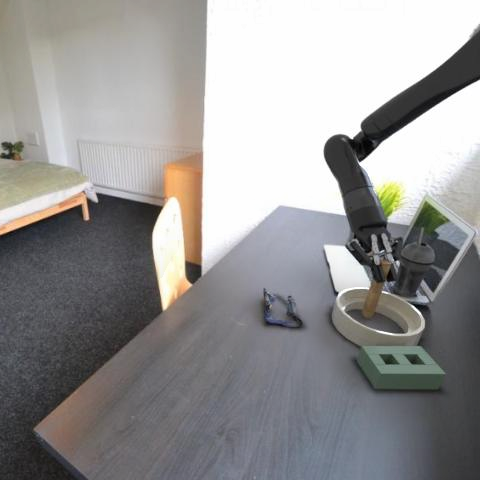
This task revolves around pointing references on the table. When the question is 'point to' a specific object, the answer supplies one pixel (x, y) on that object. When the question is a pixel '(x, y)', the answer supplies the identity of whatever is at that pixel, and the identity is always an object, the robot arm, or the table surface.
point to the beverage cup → (413, 267)
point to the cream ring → (386, 306)
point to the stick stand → (400, 367)
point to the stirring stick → (375, 292)
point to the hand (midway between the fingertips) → (386, 281)
